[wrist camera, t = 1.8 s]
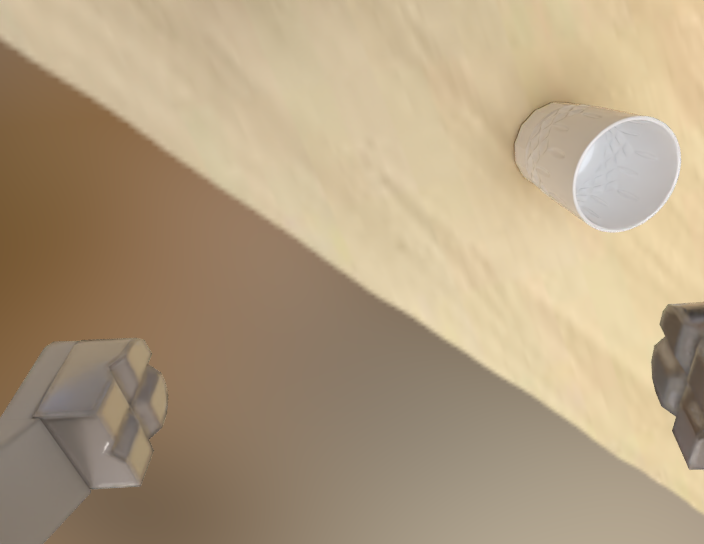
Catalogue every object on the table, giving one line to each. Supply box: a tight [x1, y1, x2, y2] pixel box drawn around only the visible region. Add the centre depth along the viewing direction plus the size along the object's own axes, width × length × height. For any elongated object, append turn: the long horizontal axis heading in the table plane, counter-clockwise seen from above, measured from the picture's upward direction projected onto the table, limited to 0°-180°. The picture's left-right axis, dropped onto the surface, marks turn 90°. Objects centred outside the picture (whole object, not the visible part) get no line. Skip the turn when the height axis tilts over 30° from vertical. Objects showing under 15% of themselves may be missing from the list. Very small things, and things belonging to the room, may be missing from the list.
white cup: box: [515, 102, 681, 232], centre depth 45 cm, size 8×8×10 cm
